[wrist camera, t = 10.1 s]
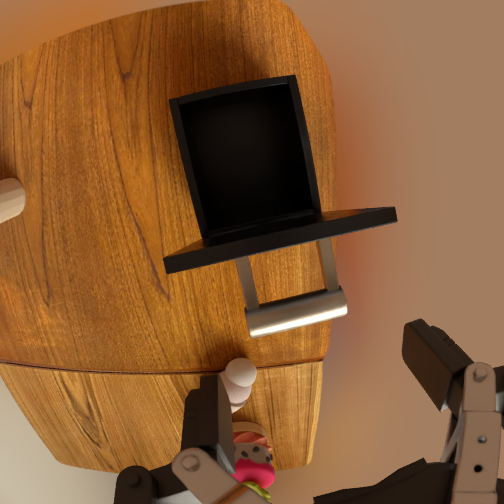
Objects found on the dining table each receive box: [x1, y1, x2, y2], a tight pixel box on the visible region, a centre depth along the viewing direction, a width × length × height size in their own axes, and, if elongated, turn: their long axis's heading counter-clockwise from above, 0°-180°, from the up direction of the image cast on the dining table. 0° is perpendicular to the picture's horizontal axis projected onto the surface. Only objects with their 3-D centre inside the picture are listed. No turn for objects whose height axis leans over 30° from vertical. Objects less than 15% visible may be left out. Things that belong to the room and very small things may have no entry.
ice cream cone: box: [220, 358, 257, 413], centre depth 43 cm, size 6×6×15 cm
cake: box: [231, 422, 275, 502], centre depth 44 cm, size 10×11×15 cm
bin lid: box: [163, 207, 397, 339], centre depth 22 cm, size 14×12×6 cm
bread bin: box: [169, 75, 322, 239], centre depth 31 cm, size 14×12×9 cm
